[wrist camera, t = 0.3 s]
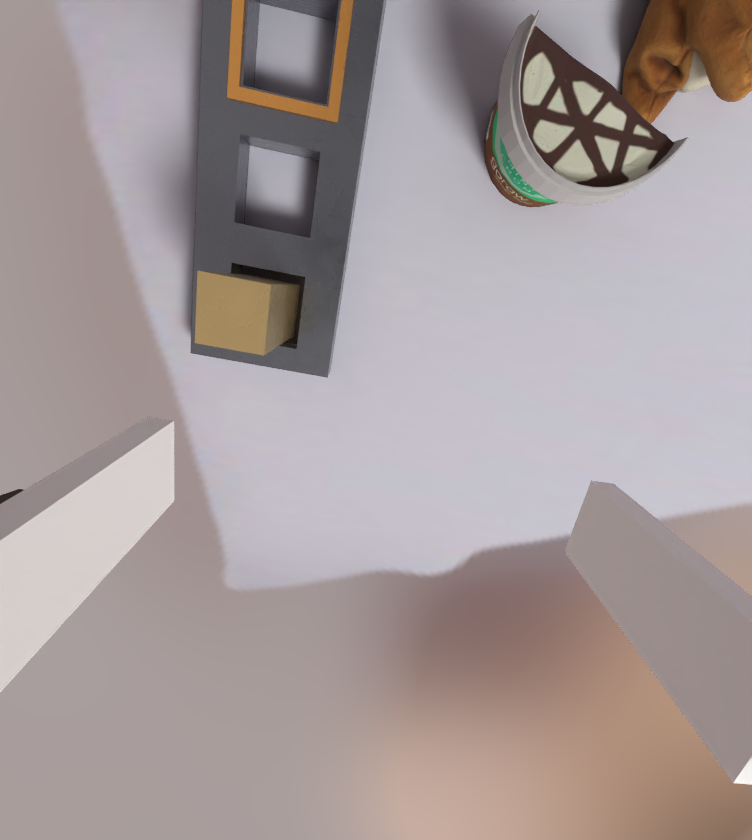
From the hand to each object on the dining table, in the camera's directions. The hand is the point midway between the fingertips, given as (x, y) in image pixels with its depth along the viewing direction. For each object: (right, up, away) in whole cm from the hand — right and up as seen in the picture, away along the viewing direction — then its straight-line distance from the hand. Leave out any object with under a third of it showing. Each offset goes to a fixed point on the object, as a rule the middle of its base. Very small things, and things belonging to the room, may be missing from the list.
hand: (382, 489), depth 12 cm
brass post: (-10, +13, +23) cm, 28 cm away
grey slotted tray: (-8, +21, +20) cm, 30 cm away
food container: (+12, +22, +20) cm, 32 cm away
